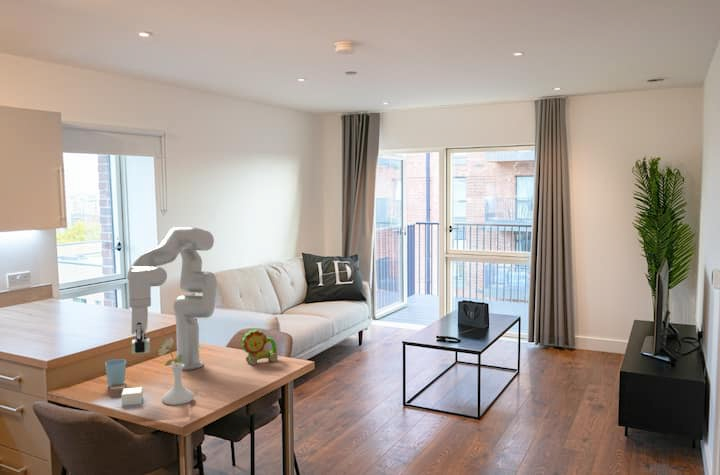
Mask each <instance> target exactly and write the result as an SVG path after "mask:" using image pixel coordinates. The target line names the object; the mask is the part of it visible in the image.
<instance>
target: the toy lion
mask: <svg viewBox="0 0 720 475" xmlns="http://www.w3.org/2000/svg"><path fill="white" fill-rule="evenodd" d="M267 343H270V344H271V350H270V351H269V350H267V349H265V346H266V344H267ZM241 348H242V349H243V351H244V352H245V353H247V355H246V357H245V361H246V362H247V363H249V364H250V365H251V366H254V365H256V364H257V363H258V361H260V360H262V359H268V360H269V361H271V362H276V361H277V360H278V354H277V344H276V342H275V340H274V339H272V338H271V337H268V336H267V335H266V334H265V333H264V332H263V331H261V330H258V329H253V330H249V331H248V332H247V333H245V334H244V335H243V337H242V339H241Z"/></svg>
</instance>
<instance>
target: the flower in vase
mask: <svg viewBox="0 0 720 475" xmlns="http://www.w3.org/2000/svg"><path fill="white" fill-rule="evenodd" d="M174 342H175V341H174V338H172V336H170V337H169V338H166V340H165V341H164V343H163V344H161V345H160V347H161V348H160V349H159V350H157V353H158V355H157V356H159V357H162V356H164V355H165V354H166V353H167V352H169V353H170V355H171V357H172V358H171V359H169V360H168V361H166V362H165V364H164V367H167V366H170V368H171V369H172V372H173V377H174V384H173V386H172V387H171V388H170V389H169V390H167V392H165V393H164V395H163V396H162V398H161V401H162V402H163V403H164V405H165V404H166V405H169V406H176V405H177V406H178V405H184V404H188V403H189V402H191V401H193V399H194V398H195V394H194V392H192V391H191V390H190V389H188V388H187V387H186V386H184V385H183V384H182V372H183V370H182V369H183V367H184V366H185V365H184V364H176V363H178V362H180V361H181V360H182V357H181V354H180V355H178V356H177V355H176V357H174V355H173V353H172V351H171V348H172V346H173V344H174ZM173 362H174V363H175V364H174V363H173ZM172 363H173V364H172Z"/></svg>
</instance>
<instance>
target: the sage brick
mask: <svg viewBox="0 0 720 475" xmlns="http://www.w3.org/2000/svg"><path fill="white" fill-rule="evenodd" d="M144 341H145V351H144V352H140V353H136V352H135V342H136V338H135V339H132V340H131V354H132V355H136V354H150V348H151V347H150V346H151V345H150V338H146V339H144Z"/></svg>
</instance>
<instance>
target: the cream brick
mask: <svg viewBox="0 0 720 475" xmlns="http://www.w3.org/2000/svg"><path fill="white" fill-rule="evenodd" d="M143 392H144V391H143V386H136V387H126V388H124V389H123V392H122V394H121V397H120V398H122V405H132V404H141V402H142V399H143V396H144V395H143V394H144V393H143Z"/></svg>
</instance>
